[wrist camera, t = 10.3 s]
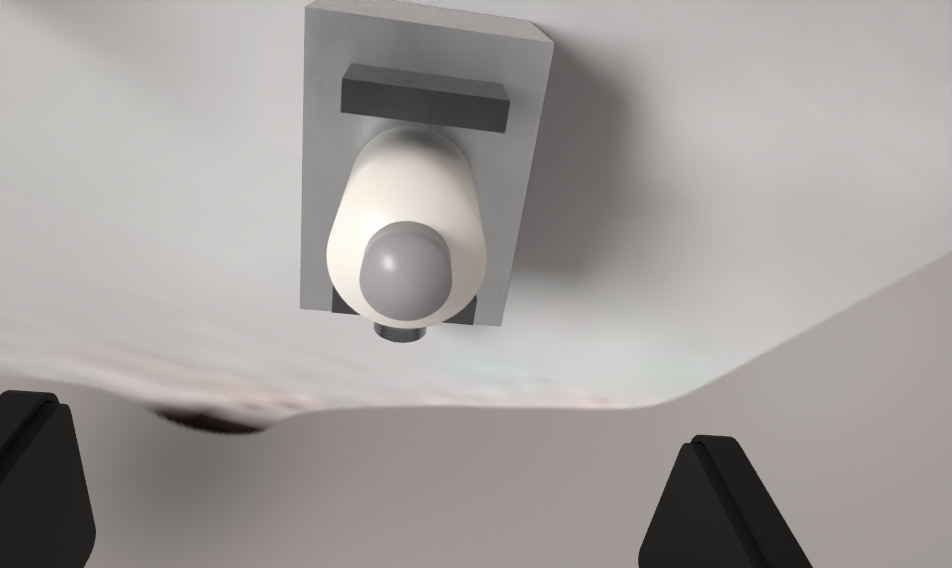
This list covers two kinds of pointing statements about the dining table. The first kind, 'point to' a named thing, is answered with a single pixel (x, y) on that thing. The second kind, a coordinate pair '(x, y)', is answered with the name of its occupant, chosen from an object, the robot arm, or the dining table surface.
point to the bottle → (408, 231)
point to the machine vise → (419, 122)
